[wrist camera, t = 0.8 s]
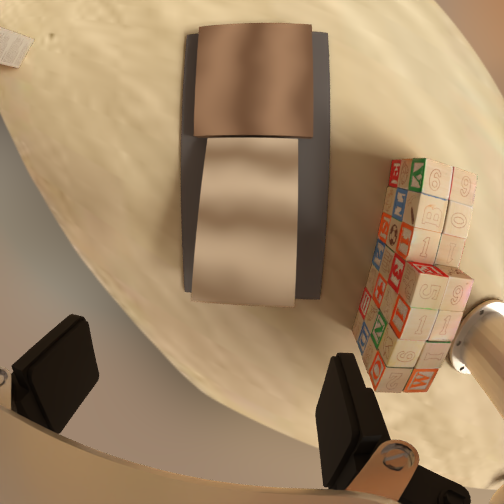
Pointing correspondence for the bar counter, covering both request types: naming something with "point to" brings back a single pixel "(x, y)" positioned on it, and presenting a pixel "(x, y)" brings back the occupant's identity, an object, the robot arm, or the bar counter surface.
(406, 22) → the bar counter surface
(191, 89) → the underlay mat
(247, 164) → the plank
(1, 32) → the small box
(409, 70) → the bar counter surface
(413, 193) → the stack of blocks
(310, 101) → the laid board
